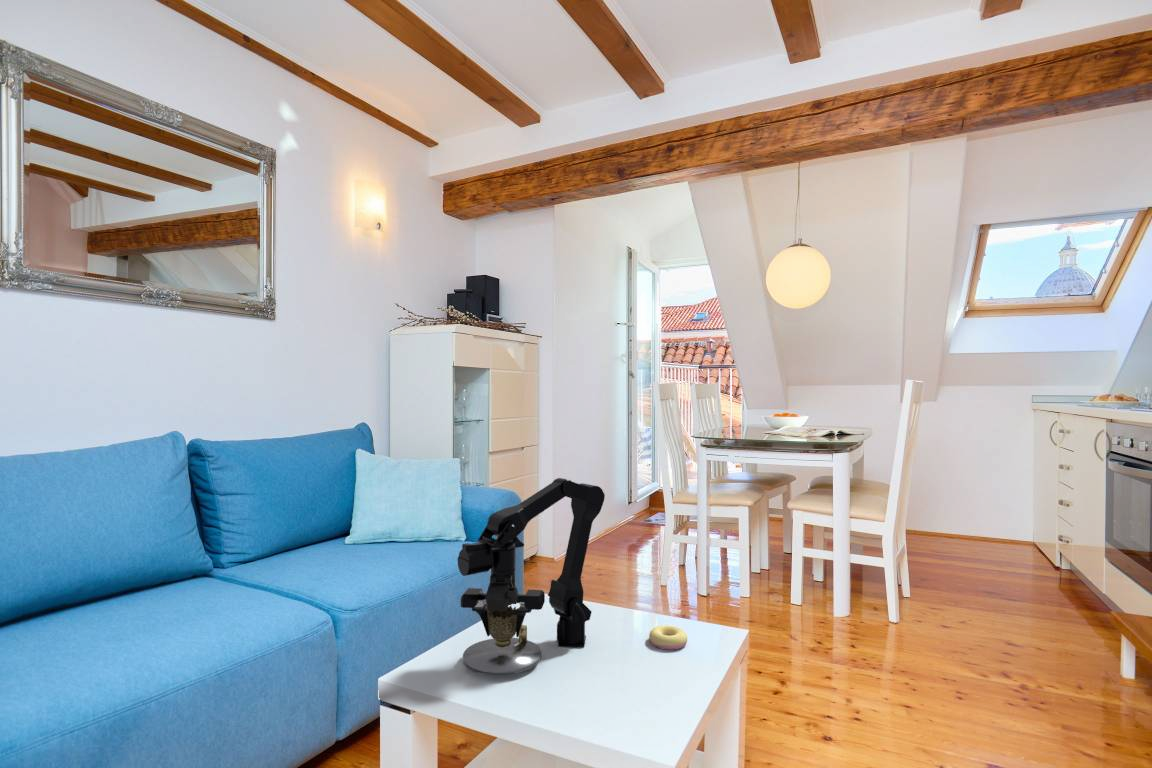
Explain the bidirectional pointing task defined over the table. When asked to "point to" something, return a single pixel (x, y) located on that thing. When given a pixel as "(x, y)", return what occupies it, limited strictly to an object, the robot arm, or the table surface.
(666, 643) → the donut
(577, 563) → the robot arm
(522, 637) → the turntable
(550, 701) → the table surface
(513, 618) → the cup
